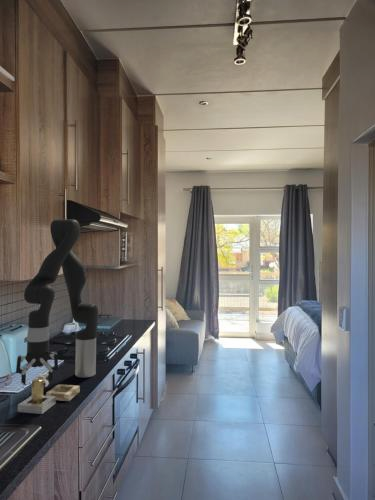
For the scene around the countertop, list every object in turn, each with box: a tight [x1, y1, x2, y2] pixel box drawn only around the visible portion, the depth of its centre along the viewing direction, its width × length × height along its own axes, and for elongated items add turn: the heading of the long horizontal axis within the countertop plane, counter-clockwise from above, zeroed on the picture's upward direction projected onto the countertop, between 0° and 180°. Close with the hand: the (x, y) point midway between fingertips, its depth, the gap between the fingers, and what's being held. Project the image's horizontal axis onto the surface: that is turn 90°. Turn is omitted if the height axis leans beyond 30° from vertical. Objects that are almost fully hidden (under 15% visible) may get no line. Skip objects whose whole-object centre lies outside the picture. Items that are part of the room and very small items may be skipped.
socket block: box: [17, 395, 57, 415], centre depth 134 cm, size 10×10×2 cm
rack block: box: [45, 383, 81, 402], centre depth 145 cm, size 10×10×2 cm
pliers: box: [38, 372, 50, 388], centre depth 161 cm, size 10×2×15 cm
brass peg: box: [31, 377, 45, 404], centre depth 134 cm, size 4×4×10 cm
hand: (37, 382), depth 134 cm, fingers open, 8 cm apart
